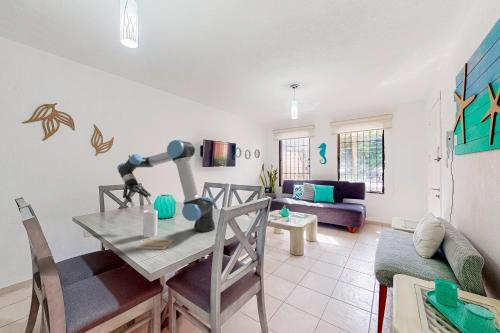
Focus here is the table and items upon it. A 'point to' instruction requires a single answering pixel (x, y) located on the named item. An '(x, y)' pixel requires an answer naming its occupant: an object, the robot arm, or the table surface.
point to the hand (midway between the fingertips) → (142, 204)
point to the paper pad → (155, 244)
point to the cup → (150, 223)
